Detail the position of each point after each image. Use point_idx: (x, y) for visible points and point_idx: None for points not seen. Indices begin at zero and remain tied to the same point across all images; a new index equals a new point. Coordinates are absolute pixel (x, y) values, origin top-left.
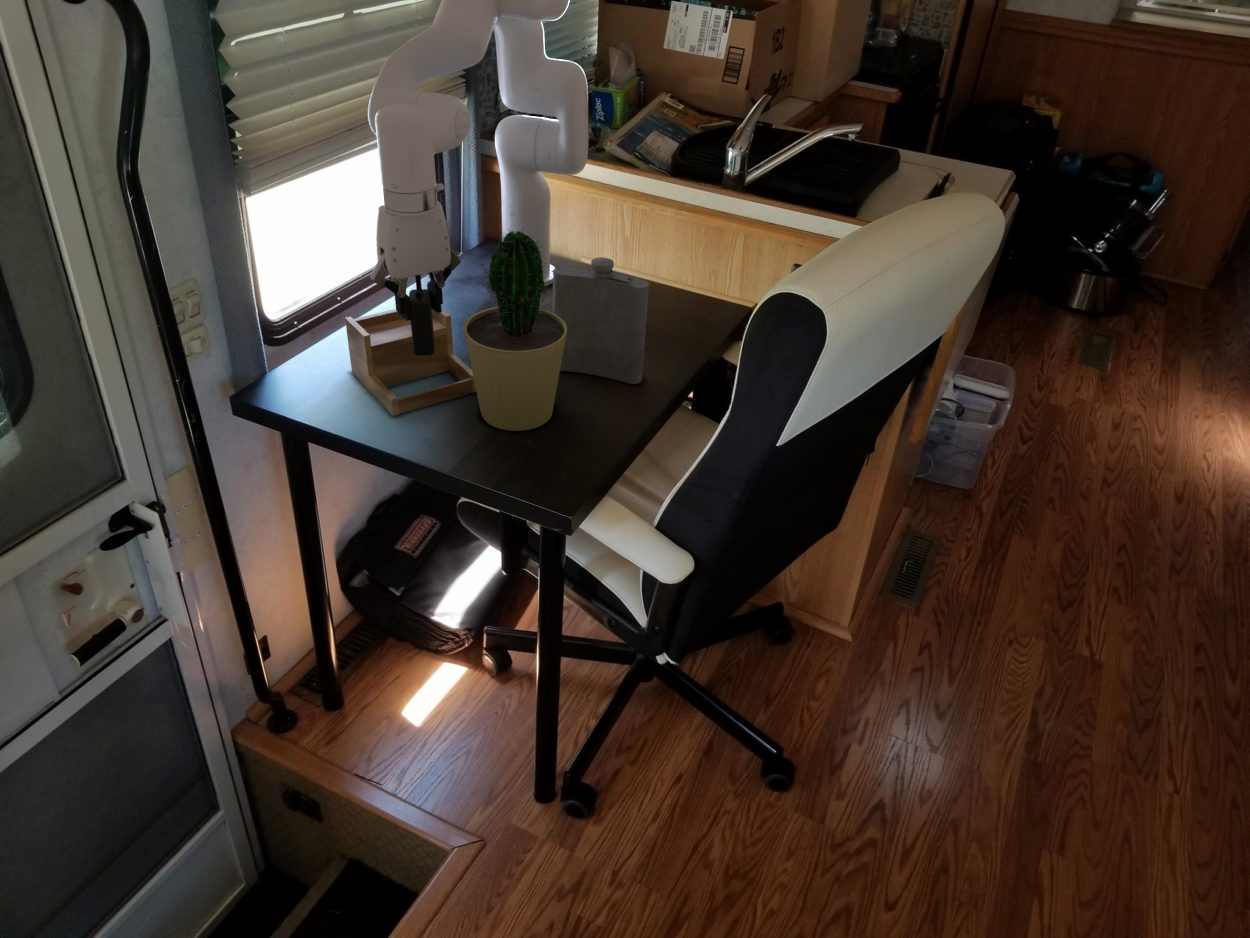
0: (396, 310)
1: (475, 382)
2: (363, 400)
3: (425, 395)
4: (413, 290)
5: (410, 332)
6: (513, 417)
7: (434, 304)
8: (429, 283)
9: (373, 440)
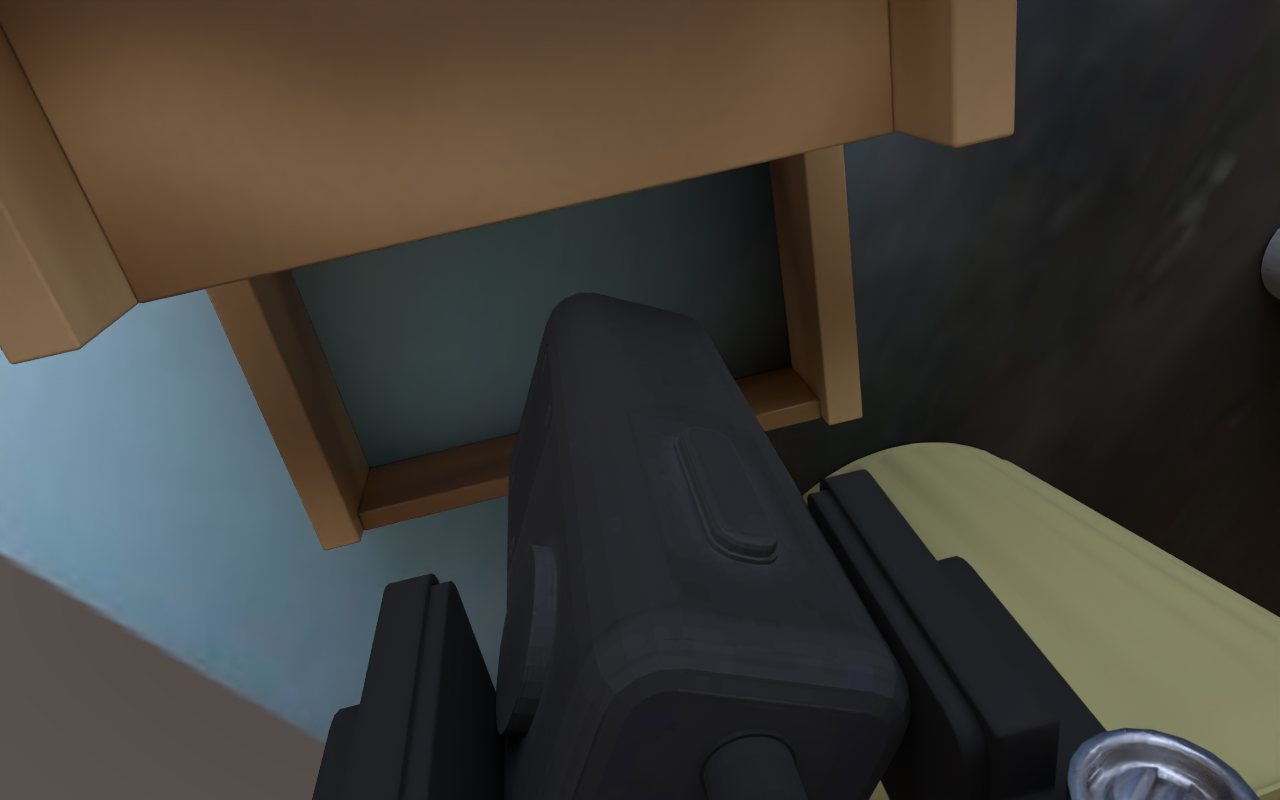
0: (339, 714)
1: None
2: (178, 295)
3: None
4: (666, 716)
5: (554, 124)
6: None
7: None
8: (1000, 781)
9: (231, 653)
